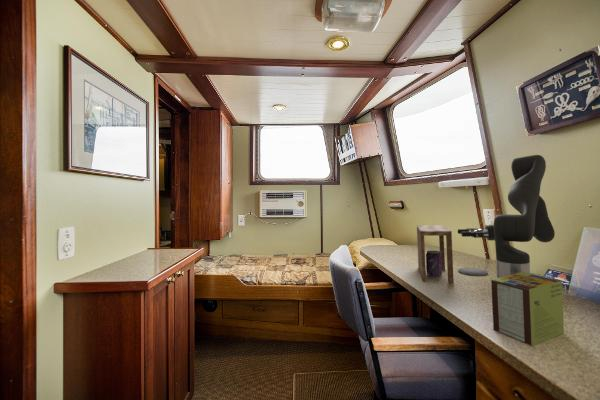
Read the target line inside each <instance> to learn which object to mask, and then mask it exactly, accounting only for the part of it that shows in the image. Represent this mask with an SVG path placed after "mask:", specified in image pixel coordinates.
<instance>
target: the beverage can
mask: <svg viewBox="0 0 600 400" xmlns="http://www.w3.org/2000/svg"><path fill="white" fill-rule="evenodd" d="M425 267H426V275H428V276H430V277H435V278H437V277H440V276H442V275H443V270H442V260H441V254H440V250H426V253H425Z"/></svg>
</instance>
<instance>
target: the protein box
mask: <svg viewBox="0 0 600 400" xmlns="http://www.w3.org/2000/svg"><path fill="white" fill-rule="evenodd" d="M490 283H491V284H490V286H491V303H492V304H491V306H492V327H493V329H492V330H493V331H495V332H498V333H500V334H502V335H505V336H507V337H509V338H512V339H514V340H516V341H519V342H521V343H524V344H526V345H529V346H531V347H533V346H535V345H538V344H540V343H543V342H545V341H548V340H551V339H554V338H556V337H559V336H561V335H564V333H565V328H564V325H565V324H564V302H563V301H564V299H563V280H561V279H556V278H551V277H547V276H543V275H542V276H541V275H538V274H532V273H530V274H529V273H524V272H520V273H517V274H512V275H508V276H504V277H500V278H497V277H496V278H493V279H491V280H490Z"/></svg>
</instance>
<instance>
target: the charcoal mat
mask: <svg viewBox="0 0 600 400" xmlns="http://www.w3.org/2000/svg"><path fill="white" fill-rule="evenodd" d="M457 272H458V273H459V274H461V275H465V276H472V277H485V276H487V275H489V272H488V271H486V270H485V269H480V268H473V267H462V268H459V269H457Z"/></svg>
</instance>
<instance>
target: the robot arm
mask: <svg viewBox="0 0 600 400" xmlns="http://www.w3.org/2000/svg"><path fill="white" fill-rule="evenodd" d="M510 165H511V166H510V167H511V174H512V176H513V179H514V180H515V181H514V182H513V183H512V184H511V185H510V187H509V191H508V193H507V194H508V195H507V200H508V202H509V204H510V205H511V206H512V207H513V208H514V209H515V210H516V212H519V214H496V215H495V217H494V219H493V224H486V225H485V227H484V229H483V228H482V227H481V228H480V227H467V228H458V229H457V234H459V235H461V237H465V238H467V237H471V238H474V239H477V238H478V239H479V238H480V239H481V238H482V239H483V238H485V239H486V240H487V241H494V244H495V245H494V246H495V259H496V265H495V266H496V278H500V277H504V276H508V275H512V274H517V273H520V272H524V273H529V274H531V259H530V254H529V253H527V252H526V251H523V250H520V249H519V248H515V247H514V246H512V245H510V244H509V242H517V243H527V242H530V241H531V240H532V239H533V238H534V239H536V240H537V241H539V242H540V243H549V242H552V241H553V239H554V238H555V234H556V233H555V229H554V226H553V224H552V221H551V220H550V218H549V213H548V208H547V205H546V202H545V200H544V199H543V197H541V195H540V193H541V185H542V181H543V179H544V176H545V173H546V168H547V163H546V160H545V158H544V156H542V155H539V154H533V155H527V156H522V157H516V158H514V159H512V161H511V164H510Z"/></svg>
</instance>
